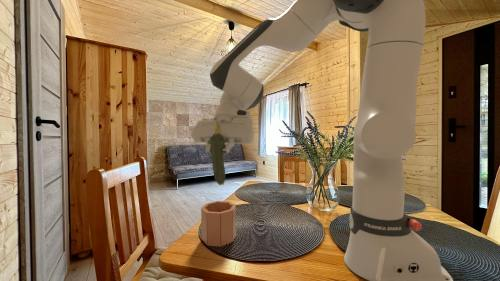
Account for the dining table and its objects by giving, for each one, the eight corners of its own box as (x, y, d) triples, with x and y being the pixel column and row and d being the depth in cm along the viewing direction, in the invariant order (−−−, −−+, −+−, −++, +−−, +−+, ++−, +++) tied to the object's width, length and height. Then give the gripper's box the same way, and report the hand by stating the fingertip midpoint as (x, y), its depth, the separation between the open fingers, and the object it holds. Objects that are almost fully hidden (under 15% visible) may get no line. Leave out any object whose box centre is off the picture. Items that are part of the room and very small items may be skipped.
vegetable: (223, 188, 69) (221, 121, 67) (209, 187, 70) (207, 121, 68) (227, 184, 73) (226, 120, 71) (214, 183, 74) (212, 120, 72)
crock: (238, 231, 77) (238, 202, 76) (230, 247, 67) (230, 214, 66) (209, 228, 79) (209, 200, 78) (198, 244, 69) (197, 212, 68)
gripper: (196, 112, 79) (181, 144, 70) (254, 111, 74) (247, 145, 65) (202, 125, 83) (189, 156, 75) (257, 125, 78) (251, 158, 70)
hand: (216, 151), depth 70 cm, fingers closed on vegetable, 4 cm apart
